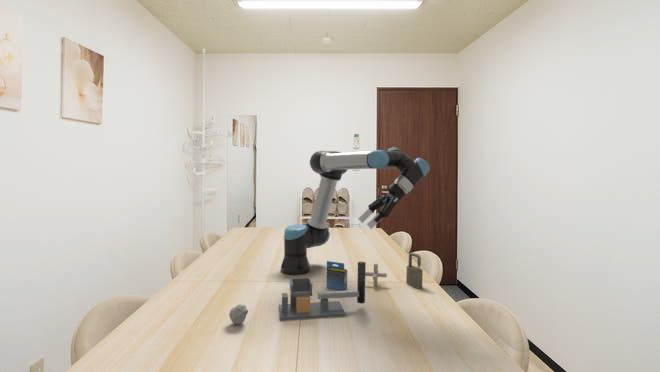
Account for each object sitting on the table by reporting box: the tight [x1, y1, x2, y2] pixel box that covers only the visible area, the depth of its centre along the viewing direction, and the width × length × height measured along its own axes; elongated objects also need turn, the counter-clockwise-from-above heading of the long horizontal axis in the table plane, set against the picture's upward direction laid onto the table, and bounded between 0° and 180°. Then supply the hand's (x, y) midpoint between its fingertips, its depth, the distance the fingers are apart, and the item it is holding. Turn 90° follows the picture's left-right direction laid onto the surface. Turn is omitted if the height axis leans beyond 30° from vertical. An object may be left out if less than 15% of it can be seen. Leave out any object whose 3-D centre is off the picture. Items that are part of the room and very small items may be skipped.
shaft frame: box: [278, 276, 347, 321], centre depth 135 cm, size 24×12×12 cm, turn 100°
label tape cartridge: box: [326, 260, 348, 291], centre depth 161 cm, size 9×4×12 cm, turn 65°
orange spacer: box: [296, 296, 311, 313], centre depth 135 cm, size 5×5×5 cm
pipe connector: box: [365, 263, 388, 287], centre depth 165 cm, size 10×10×10 cm
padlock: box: [405, 252, 424, 289], centre depth 165 cm, size 4×8×15 cm, turn 28°
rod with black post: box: [317, 261, 367, 304], centre depth 137 cm, size 18×3×16 cm, turn 100°
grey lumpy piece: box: [228, 304, 249, 326], centre depth 124 cm, size 6×7×7 cm
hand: (364, 223), depth 149 cm, fingers open, 13 cm apart
